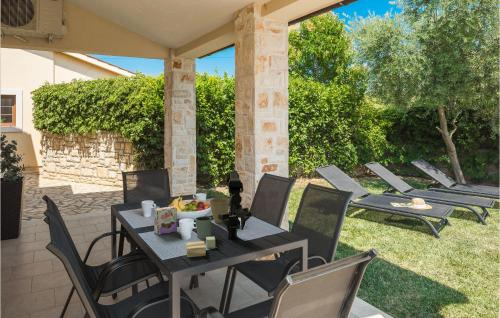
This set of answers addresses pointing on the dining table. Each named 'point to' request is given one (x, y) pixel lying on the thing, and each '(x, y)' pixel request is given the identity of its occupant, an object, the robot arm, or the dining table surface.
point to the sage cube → (210, 242)
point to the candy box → (165, 220)
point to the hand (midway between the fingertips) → (235, 230)
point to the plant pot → (219, 208)
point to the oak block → (195, 249)
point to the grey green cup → (203, 227)
